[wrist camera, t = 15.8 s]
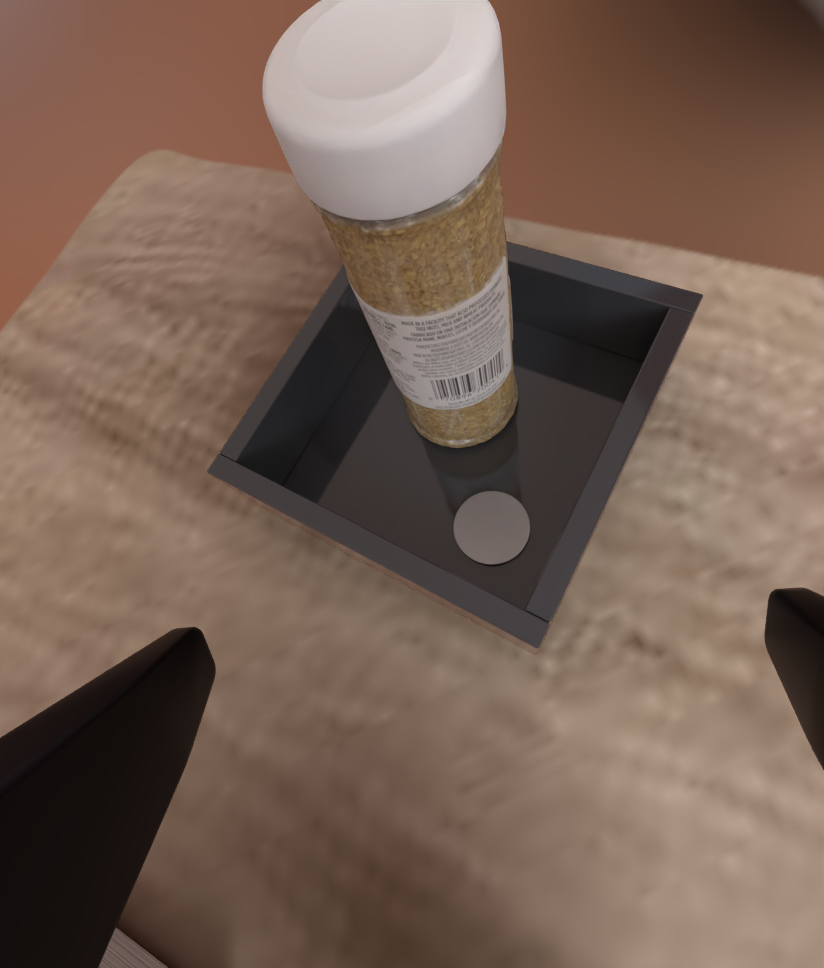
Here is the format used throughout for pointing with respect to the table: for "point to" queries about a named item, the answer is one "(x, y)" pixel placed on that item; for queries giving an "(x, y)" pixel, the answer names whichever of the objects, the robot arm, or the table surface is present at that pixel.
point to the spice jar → (410, 190)
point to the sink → (469, 470)
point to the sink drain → (492, 528)
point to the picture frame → (127, 954)
